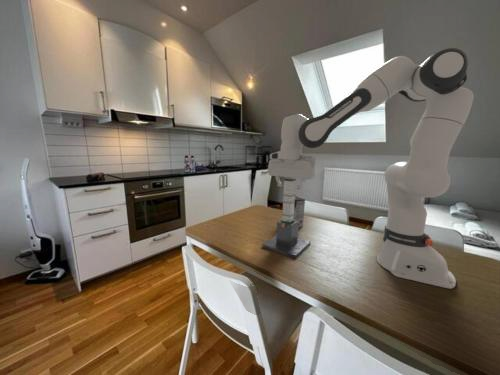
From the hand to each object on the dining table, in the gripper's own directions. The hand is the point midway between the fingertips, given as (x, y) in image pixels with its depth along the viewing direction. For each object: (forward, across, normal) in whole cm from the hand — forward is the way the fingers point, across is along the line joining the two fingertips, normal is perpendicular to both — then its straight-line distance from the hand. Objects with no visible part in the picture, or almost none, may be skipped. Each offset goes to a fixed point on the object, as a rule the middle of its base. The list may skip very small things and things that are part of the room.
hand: (289, 187), depth 88 cm
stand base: (+27, 0, 0) cm, 27 cm away
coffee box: (+27, +9, -27) cm, 39 cm away
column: (+19, 0, 0) cm, 19 cm away
